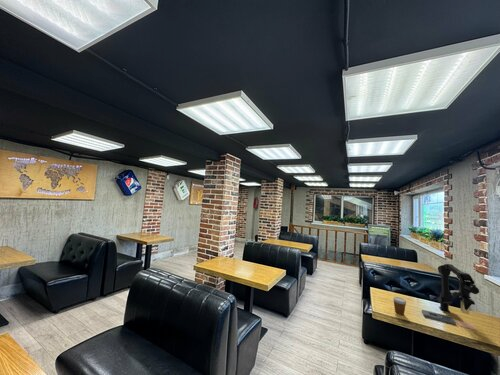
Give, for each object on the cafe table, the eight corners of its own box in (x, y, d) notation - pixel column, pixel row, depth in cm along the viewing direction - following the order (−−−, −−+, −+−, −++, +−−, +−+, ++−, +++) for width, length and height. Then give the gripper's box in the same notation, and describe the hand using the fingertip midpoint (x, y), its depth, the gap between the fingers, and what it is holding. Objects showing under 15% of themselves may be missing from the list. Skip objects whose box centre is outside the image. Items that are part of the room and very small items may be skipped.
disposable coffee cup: (400, 317, 173) (400, 302, 174) (390, 311, 182) (390, 297, 183) (409, 316, 176) (409, 301, 176) (398, 310, 185) (398, 296, 186)
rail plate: (421, 311, 184) (421, 309, 184) (451, 319, 174) (451, 316, 174) (424, 316, 176) (424, 314, 176) (456, 325, 166) (455, 322, 166)
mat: (454, 320, 173) (454, 319, 173) (471, 324, 168) (471, 323, 168) (459, 325, 165) (459, 325, 165) (477, 330, 160) (477, 329, 160)
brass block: (460, 310, 170) (460, 300, 171) (467, 312, 168) (467, 302, 169) (462, 312, 167) (462, 302, 167) (469, 314, 165) (469, 304, 165)
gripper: (447, 283, 181) (447, 301, 180) (455, 290, 165) (455, 310, 164) (465, 286, 175) (465, 305, 174) (474, 294, 159) (475, 314, 158)
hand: (464, 308), depth 167 cm, fingers closed on brass block, 4 cm apart
